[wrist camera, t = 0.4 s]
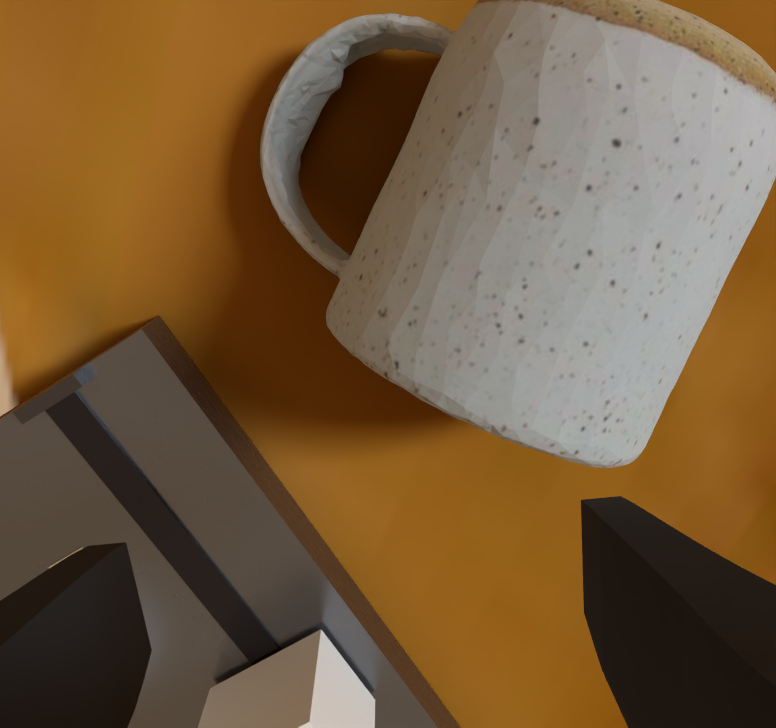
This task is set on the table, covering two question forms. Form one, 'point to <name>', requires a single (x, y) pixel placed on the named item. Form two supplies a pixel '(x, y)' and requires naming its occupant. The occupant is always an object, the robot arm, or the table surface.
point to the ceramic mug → (542, 211)
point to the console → (186, 532)
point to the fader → (293, 692)
